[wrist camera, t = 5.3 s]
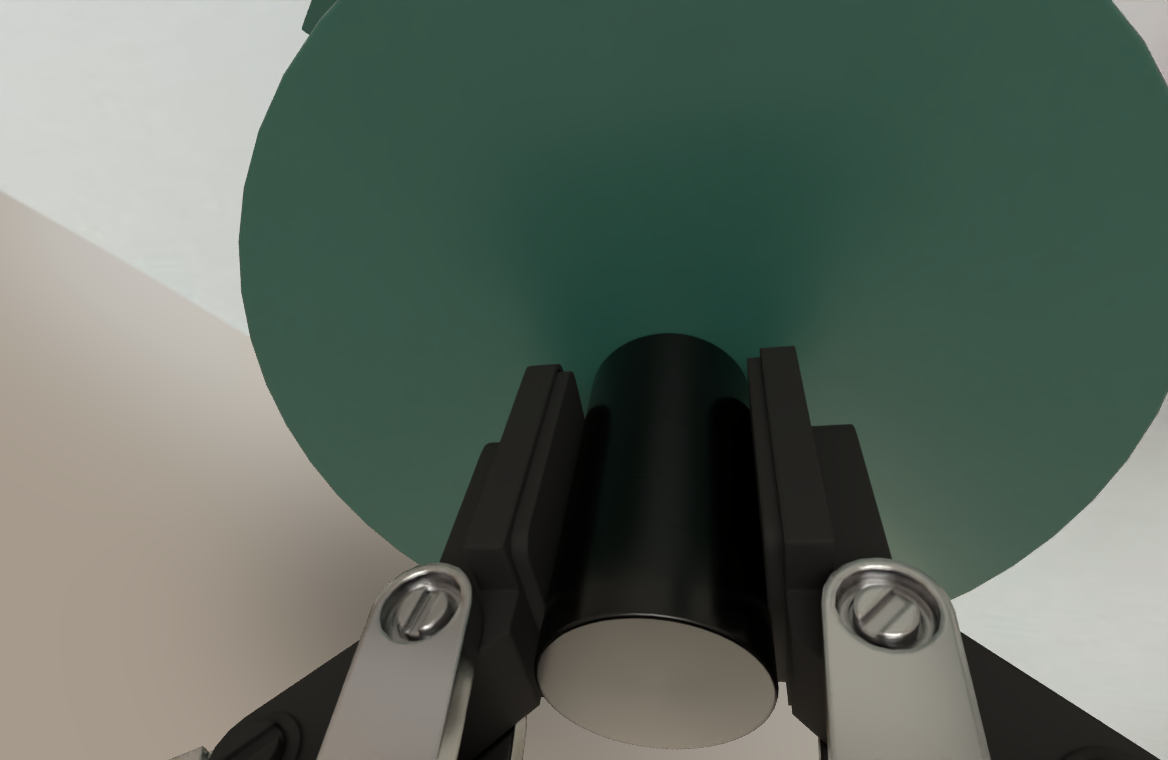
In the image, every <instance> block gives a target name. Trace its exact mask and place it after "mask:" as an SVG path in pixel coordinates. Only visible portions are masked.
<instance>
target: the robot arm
mask: <svg viewBox="0 0 1168 760" xmlns="http://www.w3.org/2000/svg"><path fill="white" fill-rule="evenodd" d="M747 373H748V390H749V407H750V419H751V430H752V441H753V452H754V463H755V473H756V484H757V495H758V506H759V517H760V528H761V539H762V549H763V560H764V571H765V582H766V593H767V604H768V608H769V611H770V613H771V619H772V626H773V636H774V647H775V657H776V667H777V677H778V682H786V686H787V695H788V705H792V714H793V715H794V716H795V717H796V718H798V719H799V720H800V721H801V722H802V723H803V724H804V725H805V726H806V727H808V728H809V729H810V730H811V731H812V732H813V733H815V734H816V735H817V736H818V744H819V760H1160V759H1158V758H1157V757H1155V756H1154V755H1152V754H1151V753H1149V752H1147V751H1146V750H1144V749H1143V748H1141V747H1140V746H1138V745H1137V744H1135V743H1133V742H1132V741H1130V740H1129V739H1127V738H1126V737H1124V736H1123V735H1121V734H1119V733H1118V732H1116V731H1115V730H1113V729H1112V728H1110V727H1108V726H1107V725H1105V724H1104V723H1102V722H1101V721H1099V720H1098V719H1096V718H1094V717H1093V716H1091V715H1090V714H1088V713H1087V712H1085V711H1083V710H1082V709H1080V708H1079V707H1077V706H1076V705H1074V704H1073V703H1071V702H1069V701H1068V700H1066V699H1065V698H1063V697H1062V696H1060V695H1058V694H1057V693H1055V692H1054V691H1052V690H1051V689H1049V688H1048V687H1046V686H1044V685H1043V684H1041V683H1040V682H1038V681H1037V680H1035V679H1033V678H1032V677H1030V676H1029V675H1027V674H1026V673H1024V672H1023V671H1021V670H1019V669H1018V668H1016V667H1015V666H1013V665H1012V664H1010V663H1009V662H1007V661H1005V660H1004V659H1002V658H1001V657H999V656H998V655H996V654H994V653H993V652H991V651H990V650H988V649H987V648H985V647H984V646H982V645H980V644H979V643H977V642H976V641H974V640H973V639H971V638H969V637H968V636H966V635H965V634H963V633H962V632H960V629H959V625H958V621H957V617H956V613H955V610H954V608H953V605H952V603H951V601H950V598H949V596H948V594H947V593H946V592H945V591H944V590H943V589H942V587H941V586H940V585H939V584H938V583H937V582H936V581H935V580H934V579H933V578H931V577H930V576H929V575H927V574H926V573H924V572H923V571H921V570H920V569H918V568H916V567H913V566H911V565H908V564H906V563H903V562H901V561H898V560H892V556H891V553H890V549H889V546H888V542H887V539H886V535H885V532H884V528H883V524H882V521H881V517H880V514H879V510H878V507H877V503H876V500H875V496H874V493H873V489H872V485H871V482H870V478H869V475H868V471H867V468H866V464H865V461H864V457H863V453H862V450H861V446H860V443H859V439H858V436H857V433H856V430H855V427H854V426H853V424H842V425H822V426H811V422H810V417H809V412H808V407H807V402H806V397H805V392H804V387H803V382H802V377H801V372H800V367H799V363H798V358H797V353H796V348H795V346H782V347H769V348H760V357H755V358H747ZM584 423H585V417H584V413H583V408H582V404H581V400H580V396H579V391H578V387H577V383H576V379H575V375H574V373H573V372H572V371H566V372H564V370H563V368H562V366H561V365H560V364H548V365H535V366H528V367H527V368H526V370H525V373H524V375H523V378H522V381H521V384H520V387H519V390H518V392H517V395H516V398H515V401H514V404H513V406H512V409H511V412H510V415H509V418H508V420H507V423H506V426H505V429H504V432H503V435H502V437H501V440H500V442H494V443H488V444H486V445H485V446H484V448H483V450H482V452H481V454H480V457H479V459H478V462H477V465H476V467H475V470H474V473H473V475H472V478H471V480H470V483H469V486H468V488H467V491H466V493H465V496H464V499H463V501H462V504H461V507H460V509H459V512H458V514H457V517H456V520H455V522H454V525H453V528H452V530H451V533H450V535H449V538H448V541H447V543H446V546H445V548H444V551H443V554H442V556H441V559H440V562H439V563H434V562H433V563H428V564H423V565H418V566H416V567H414V568H412V569H409V570H407V571H405V572H403V573H402V574H400V575H399V576H397V577H396V578H395V579H393V580H392V581H390V582H389V584H387V586H386V587H385V588H384V589H383V590H382V591H381V592H380V594H379V595H378V597H377V598H376V600H375V602H374V604H373V606H372V608H371V611H370V613H369V616H368V619H367V621H366V624H365V627H364V630H363V632H362V635H361V638H360V640H359V641H357V642H356V643H354V644H353V645H352V646H350V647H349V648H347V649H346V650H344V651H343V652H341V653H340V654H338V655H337V656H335V657H334V658H332V659H331V660H329V661H328V662H326V663H325V664H323V665H322V666H320V667H319V668H317V669H316V670H314V671H313V672H312V673H310V674H309V675H307V676H306V677H304V678H303V679H301V680H300V681H298V682H297V683H295V684H294V685H293V686H291V687H289V688H288V689H286V690H285V691H283V692H282V693H280V694H279V695H277V696H276V697H275V698H273V699H271V700H270V701H269V702H267V703H266V704H264V705H263V706H261V707H260V708H258V709H257V710H255V711H254V712H252V713H251V714H249V715H248V716H246V717H245V718H244V719H243V720H241V721H240V722H239V723H238V724H236V725H235V726H234V727H233V728H232V729H230V730H229V731H228V732H227V734H226V735H225V736H224V737H223V738H222V740H221V741H220V742H219V743H218V744H217V746H216V747H215V749H214V750H213V751H211V752H208V751H207V750H206V749H205V748H204V747H203V746H201V747H199V748H197V749H194V750H192V751H189V752H187V753H185V754H182V755H180V756H177V757H175V758H172V759H170V760H523V753H524V745H525V737H526V729H527V716H526V715H527V714H529V713H530V712H531V711H532V710H534V709H535V708H536V707H537V706H539V705H540V699H541V697H544V696H543V695H542V693H541V692H540V690H539V688H538V686H537V683H536V679H535V676H534V659H535V654H536V649H537V645H538V640H539V635H540V630H541V626H542V621H543V616H544V612H545V607H546V602H547V597H548V593H549V588H550V583H551V579H552V574H553V569H554V564H555V560H556V555H557V550H558V546H559V541H560V536H561V531H562V527H563V522H564V517H565V513H566V508H567V503H568V498H569V494H570V489H571V484H572V480H573V475H574V470H575V465H576V461H577V456H578V451H579V447H580V442H581V437H582V432H583V428H584Z"/></svg>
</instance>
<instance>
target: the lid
mask: <svg viewBox="0 0 1168 760" xmlns="http://www.w3.org/2000/svg"><path fill="white" fill-rule="evenodd" d="M239 257H240V276H241V293H242V298H243V303H244V308H245V313H246V318H247V323H248V328H249V333H250V338H251V342H252V345H253V347H254V350H255V353H256V356H257V359H258V362H259V365H260V368H261V371H262V374H263V377H264V379H265V382H266V385H267V387H268V389H269V391H270V393H271V395H272V397H273V399H274V401H275V403H276V405H277V407H278V409H279V411H280V413H281V415H282V417H283V419H284V421H285V423H286V425H287V427H288V428H289V430H290V431H291V433H292V434H293V436H294V438H295V439H296V441H297V442H298V444H299V445H300V447H301V448H302V450H303V451H304V453H305V454H306V456H307V458H308V459H309V461H310V462H311V463H312V464H313V466H314V467H315V468H316V469H317V471H318V472H319V473H320V474H321V475H322V477H323V478H324V479H325V480H326V482H327V483H328V484H329V485H330V487H331V488H332V489H333V490H334V492H335V493H336V494H337V495H338V496H339V497H340V498H341V499H342V500H343V501H344V502H345V503H346V504H347V505H348V506H349V507H350V508H351V509H352V510H353V511H354V512H355V513H356V514H357V515H358V516H359V517H360V518H361V519H362V520H363V521H364V522H365V523H366V524H367V525H368V526H369V527H371V528H372V529H373V530H374V531H375V532H377V533H378V534H379V535H380V536H382V537H383V538H384V539H385V540H387V541H388V542H389V543H390V544H391V545H393V546H394V547H395V548H396V549H397V550H399V551H400V552H401V553H403V554H404V555H406V556H407V557H409V558H410V559H412V560H413V561H415V562H416V563H418V564H419V565H423V564H428V563H433V562H434V563H439V562H440V559H441V556H442V554H443V551H444V548H445V546H446V543H447V541H448V538H449V535H450V533H451V530H452V528H453V525H454V522H455V520H456V517H457V514H458V512H459V509H460V507H461V504H462V501H463V499H464V496H465V493H466V491H467V488H468V486H469V483H470V480H471V478H472V475H473V473H474V470H475V467H476V465H477V462H478V459H479V457H480V454H481V452H482V450H483V448H484V446H485V445H486V444H488V443H494V442H500V440H501V437H502V435H503V432H504V429H505V426H506V423H507V420H508V418H509V415H510V412H511V409H512V406H513V404H514V401H515V398H516V395H517V392H518V390H519V387H520V384H521V381H522V378H523V375H524V373H525V370H526V368H527V367H528V366H535V365H548V364H560V365H561V366H562V368H563V370H564V372H566V371H572V372H573V373H574V375H575V379H576V383H577V387H578V391H579V396H580V400H581V404H582V408H583V413H584V417H585V423H584V428H583V432H582V437H581V442H580V447H579V451H578V456H577V461H576V465H575V470H574V475H573V480H572V484H571V489H570V494H569V498H568V503H567V508H566V513H565V517H564V522H563V527H562V531H561V536H560V541H559V546H558V550H557V555H556V560H555V564H554V569H553V574H552V579H551V583H550V588H549V593H548V597H547V602H546V607H545V612H544V616H543V621H542V626H541V630H540V635H539V640H538V645H537V649H536V654H535V659H534V676H535V679H536V683H537V686H538V688H539V690H540V692H541V693H542V695H543V696H544V698H545V699H546V700H547V702H548V703H549V704H550V705H551V706H552V707H553V708H554V709H555V710H557V711H558V712H559V713H560V714H561V715H563V716H564V717H566V718H567V719H569V720H570V721H572V722H573V723H575V724H577V725H579V726H581V727H582V728H584V729H586V730H589V731H591V732H593V733H595V734H598V735H601V736H604V737H606V738H609V739H612V740H616V741H620V742H623V743H628V744H632V745H637V746H644V747H652V748H662V749H690V748H702V747H709V746H714V745H718V744H723V743H726V742H729V741H733V740H736V739H738V738H740V737H743V736H745V735H747V734H749V733H750V732H752V731H754V730H755V729H757V728H758V727H759V726H760V725H762V724H763V723H764V722H765V721H766V720H767V719H768V717H769V716H770V715H771V713H772V711H773V710H774V708H775V705H776V702H777V699H778V689H779V688H778V677H777V667H776V657H775V647H774V636H773V626H772V619H771V613H770V611H769V608H768V604H767V593H766V582H765V571H764V560H763V549H762V539H761V528H760V517H759V506H758V495H757V484H756V473H755V463H754V452H753V441H752V430H751V419H750V407H749V390H748V373H747V358H755V357H760V348H769V347H782V346H795V348H796V353H797V358H798V363H799V367H800V372H801V377H802V382H803V387H804V392H805V397H806V402H807V407H808V412H809V417H810V422H811V426H822V425H842V424H853V426H854V427H855V430H856V433H857V436H858V439H859V443H860V446H861V450H862V453H863V457H864V461H865V464H866V468H867V471H868V475H869V478H870V482H871V485H872V489H873V493H874V496H875V500H876V503H877V507H878V510H879V514H880V517H881V521H882V524H883V528H884V532H885V535H886V539H887V542H888V546H889V549H890V553H891V556H892V560H898V561H901V562H903V563H906V564H908V565H911V566H913V567H916V568H918V569H920V570H921V571H923V572H924V573H926V574H927V575H929V576H930V577H931V578H933V579H934V580H935V581H936V582H937V583H938V584H939V585H940V586H941V587H942V589H943V590H944V591H945V592H946V593H947V594H948V596H949V598H950V600H952V599H954V598H956V597H958V596H960V595H963V594H965V593H967V592H969V591H971V590H973V589H974V588H976V587H978V586H980V585H981V584H983V583H985V582H986V581H988V580H990V579H992V578H993V577H995V576H997V575H998V574H1000V573H1002V572H1004V571H1005V570H1007V569H1009V568H1010V567H1012V566H1014V565H1015V564H1016V563H1018V562H1019V561H1020V560H1022V559H1023V558H1025V557H1026V556H1027V555H1029V554H1030V553H1031V552H1033V551H1034V550H1036V549H1037V548H1038V547H1040V546H1041V545H1042V544H1044V543H1045V542H1047V541H1048V540H1049V539H1051V538H1052V537H1053V536H1055V535H1056V534H1057V533H1058V532H1059V531H1060V530H1061V529H1062V528H1063V527H1064V526H1066V525H1067V524H1068V523H1069V522H1070V521H1071V520H1072V519H1073V518H1074V517H1075V516H1076V515H1078V514H1079V513H1080V512H1081V511H1082V510H1083V509H1084V508H1085V507H1086V506H1087V505H1088V504H1090V503H1091V502H1092V501H1093V500H1094V498H1095V497H1096V496H1097V495H1098V494H1099V493H1100V491H1101V490H1102V489H1103V488H1104V487H1105V486H1106V484H1107V483H1108V482H1109V481H1110V480H1111V479H1112V477H1113V476H1114V475H1115V474H1116V473H1117V472H1118V470H1119V469H1120V468H1121V467H1122V466H1123V465H1124V463H1125V462H1126V461H1127V460H1128V458H1129V457H1130V455H1131V454H1132V452H1133V451H1134V449H1135V448H1136V446H1137V445H1138V443H1139V441H1140V440H1141V438H1142V437H1143V435H1144V434H1145V432H1146V431H1147V429H1148V428H1149V426H1150V425H1151V423H1152V421H1153V420H1154V418H1155V417H1156V415H1157V414H1158V412H1159V410H1160V407H1161V405H1162V403H1163V401H1164V399H1165V396H1166V394H1167V392H1168V86H1167V84H1166V82H1165V80H1164V78H1163V76H1162V74H1161V72H1160V70H1159V68H1158V66H1157V65H1156V63H1155V61H1154V59H1153V57H1152V55H1151V53H1150V51H1149V49H1148V47H1147V45H1146V43H1145V41H1144V40H1143V39H1142V37H1141V36H1140V35H1139V34H1138V32H1137V31H1136V30H1135V29H1134V27H1133V26H1132V25H1131V24H1130V23H1129V21H1128V20H1127V19H1126V18H1125V16H1124V15H1123V14H1122V13H1121V11H1120V10H1119V9H1118V8H1117V6H1116V5H1115V4H1114V3H1113V1H1112V0H337V1H336V2H335V3H334V5H333V6H332V7H331V8H330V9H329V10H328V11H327V12H326V13H325V14H324V15H323V16H322V17H321V19H320V20H319V21H318V23H317V25H316V26H315V28H314V29H313V31H312V32H311V34H310V35H309V37H308V38H307V40H306V41H305V43H304V44H303V46H302V47H301V49H300V50H299V52H298V53H297V55H296V56H295V58H294V60H293V61H292V63H291V64H290V66H289V67H288V69H287V70H286V72H285V73H284V75H283V77H282V79H281V82H280V84H279V86H278V88H277V91H276V93H275V95H274V97H273V100H272V102H271V104H270V106H269V109H268V111H267V113H266V116H265V118H264V120H263V122H262V125H261V127H260V129H259V132H258V136H257V139H256V143H255V147H254V151H253V155H252V159H251V162H250V166H249V170H248V174H247V178H246V182H245V186H244V192H243V202H242V212H241V223H240V233H239Z"/></svg>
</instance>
